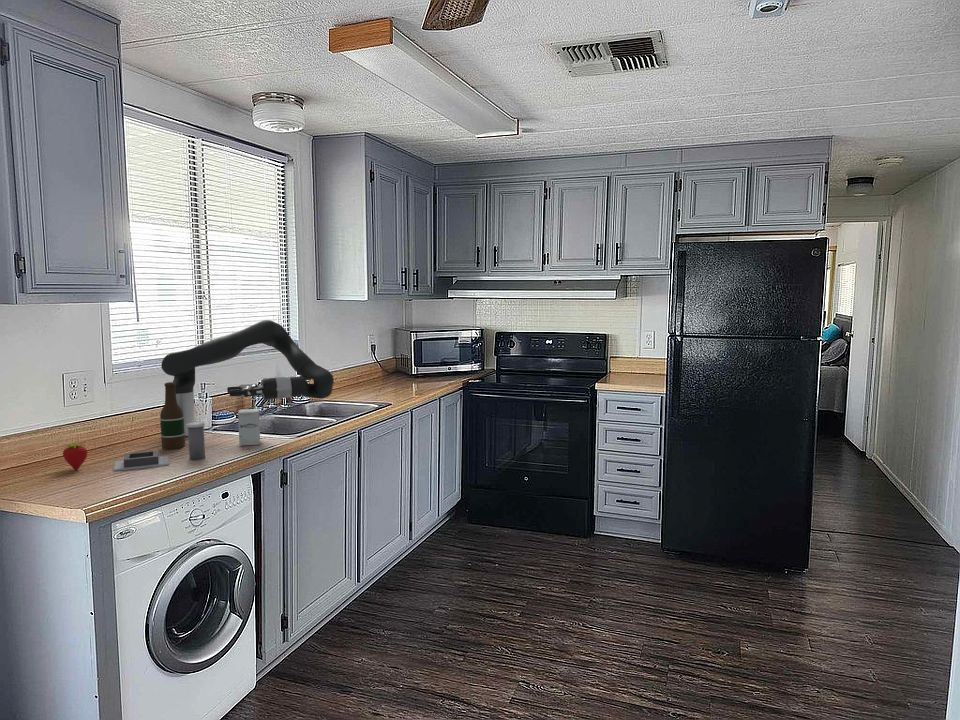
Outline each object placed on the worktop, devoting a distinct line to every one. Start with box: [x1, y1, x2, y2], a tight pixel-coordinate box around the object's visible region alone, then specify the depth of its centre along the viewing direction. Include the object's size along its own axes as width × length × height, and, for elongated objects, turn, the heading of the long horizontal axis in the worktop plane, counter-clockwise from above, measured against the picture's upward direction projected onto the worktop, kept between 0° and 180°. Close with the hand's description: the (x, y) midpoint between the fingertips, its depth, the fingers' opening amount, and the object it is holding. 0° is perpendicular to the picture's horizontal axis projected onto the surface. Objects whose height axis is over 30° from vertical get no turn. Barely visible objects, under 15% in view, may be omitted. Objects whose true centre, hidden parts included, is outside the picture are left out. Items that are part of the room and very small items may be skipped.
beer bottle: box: [159, 381, 186, 451], centre depth 248 cm, size 8×8×24 cm
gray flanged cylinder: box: [186, 421, 206, 461], centre depth 231 cm, size 6×6×12 cm
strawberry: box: [62, 438, 88, 470], centre depth 218 cm, size 6×8×10 cm
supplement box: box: [237, 408, 261, 447], centre depth 253 cm, size 7×7×13 cm
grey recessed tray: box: [112, 450, 170, 472], centre depth 224 cm, size 12×16×3 cm
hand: (228, 391), depth 234 cm, fingers open, 8 cm apart
